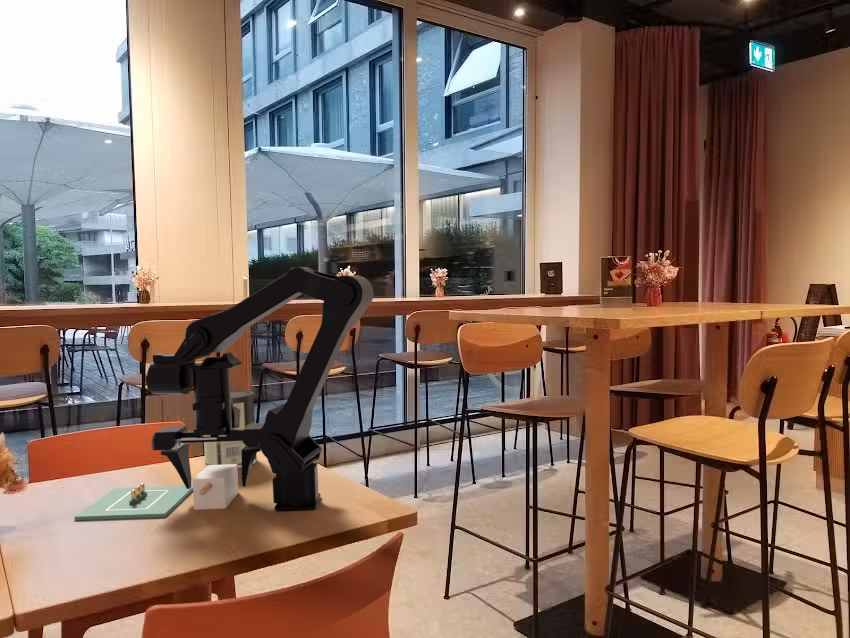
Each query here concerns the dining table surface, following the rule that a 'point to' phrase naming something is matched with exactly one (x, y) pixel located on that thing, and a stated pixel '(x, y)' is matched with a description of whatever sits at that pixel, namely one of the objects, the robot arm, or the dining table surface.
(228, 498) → the block
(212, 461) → the coffee can
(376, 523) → the dining table surface
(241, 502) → the dining table surface
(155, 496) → the pin board
